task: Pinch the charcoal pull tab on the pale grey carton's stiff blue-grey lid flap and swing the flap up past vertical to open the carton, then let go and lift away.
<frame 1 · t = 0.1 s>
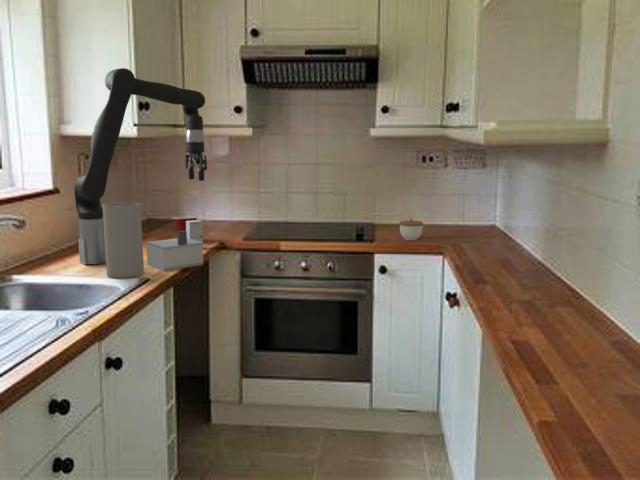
hand: (196, 179, 270), 29 cm above the worktop, fingers open, 8 cm apart
skincare box: (195, 249, 274), on the worktop
plastic cup: (186, 243, 289), on the worktop
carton: (175, 264, 243), on the worktop
lidded jar: (410, 239, 296), on the worktop
carton flap: (174, 236, 241), point 11 cm above the worktop, hinge at 0.0°
cylinder vase: (125, 275, 227), on the worktop
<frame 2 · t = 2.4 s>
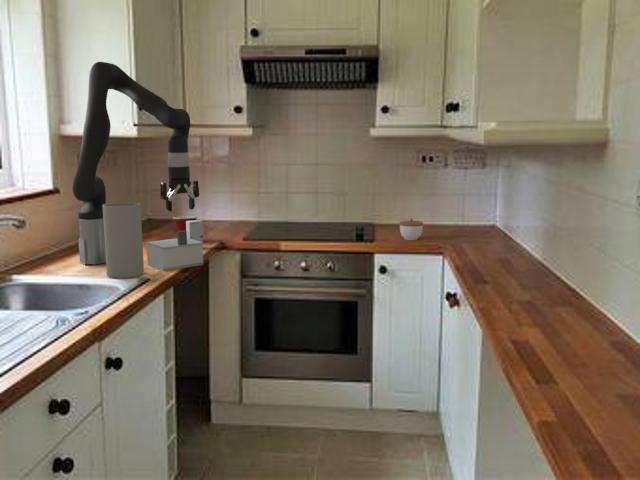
hand: (180, 210, 234), 21 cm above the worktop, fingers open, 8 cm apart
nothing on the worktop moved.
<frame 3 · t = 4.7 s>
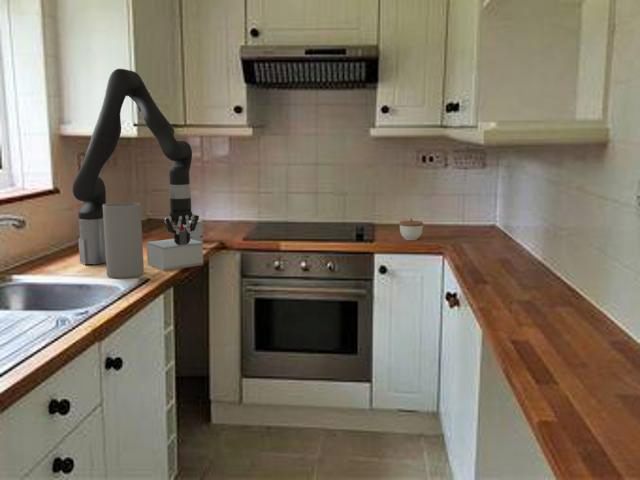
hand: (182, 243, 236), 9 cm above the worktop, fingers closed on carton flap, 3 cm apart
carton flap: (174, 236, 241), point 11 cm above the worktop, hinge at 0.0°, touching gripper
everything else where it was.
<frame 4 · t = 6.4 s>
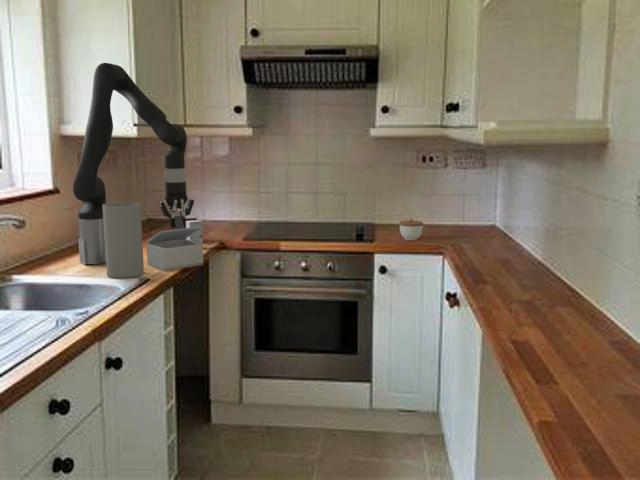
hand: (177, 227, 238), 15 cm above the worktop, fingers closed on carton flap, 3 cm apart
carton flap: (171, 228, 242), point 14 cm above the worktop, hinge at 24.0°, touching gripper
everything else where it was.
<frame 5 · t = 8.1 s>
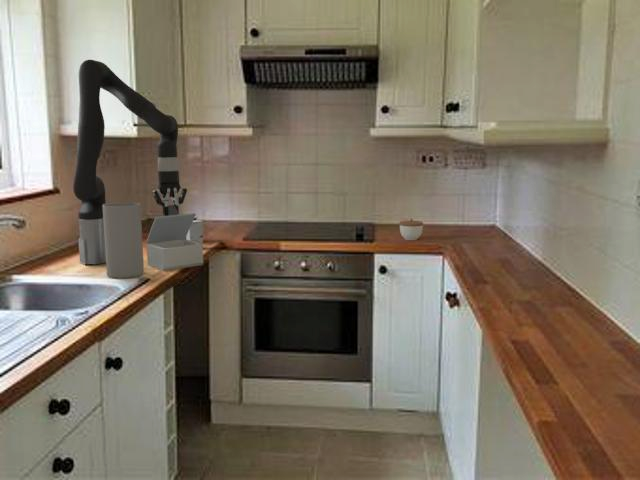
hand: (171, 215, 241), 18 cm above the worktop, fingers closed on carton flap, 3 cm apart
carton flap: (168, 223, 243), point 15 cm above the worktop, hinge at 48.0°, touching gripper
everything else where it was.
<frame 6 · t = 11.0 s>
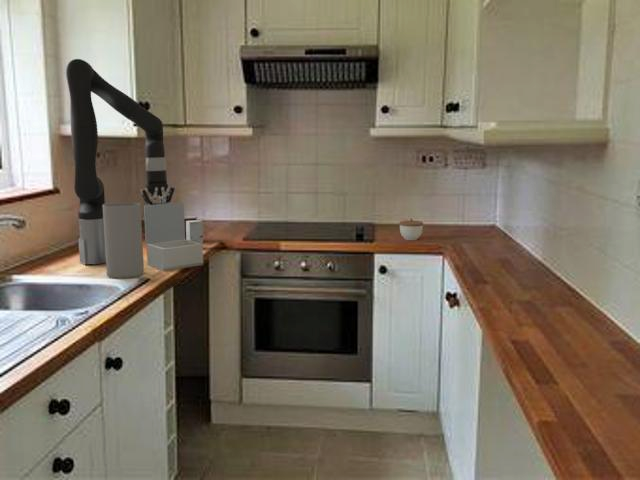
hand: (158, 214, 249), 18 cm above the worktop, fingers closed on carton flap, 3 cm apart
carton flap: (162, 221, 248), point 15 cm above the worktop, hinge at 89.0°, touching gripper
everything else where it was.
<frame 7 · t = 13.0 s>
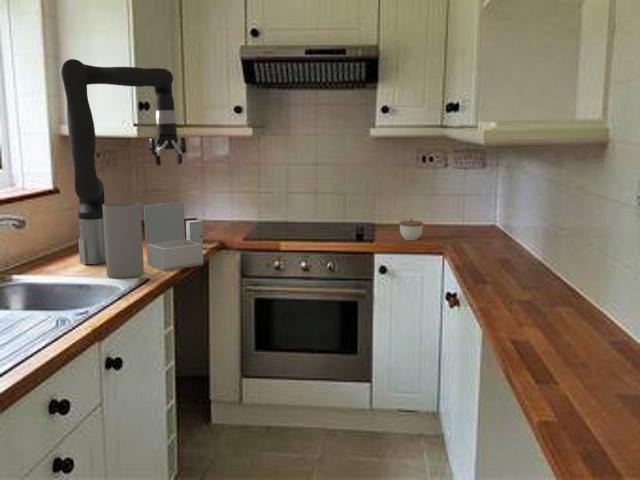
hand: (169, 165, 250), 37 cm above the worktop, fingers open, 8 cm apart
carton flap: (162, 222, 248), point 15 cm above the worktop, hinge at 89.9°
everything else where it was.
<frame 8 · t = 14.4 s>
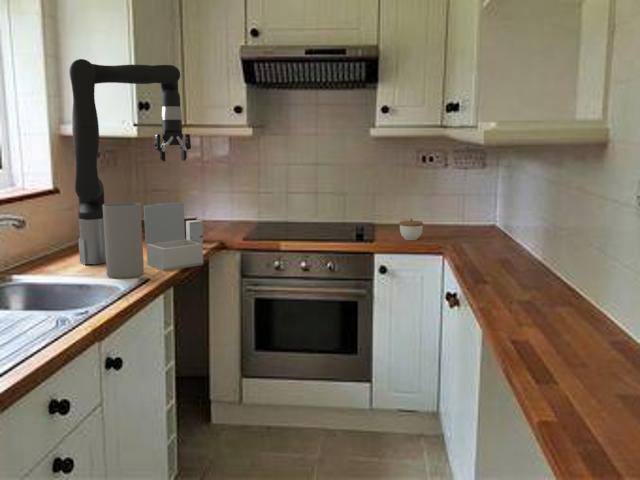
hand: (173, 160, 252), 38 cm above the worktop, fingers open, 8 cm apart
nothing on the worktop moved.
at the end: carton flap at +90° (first picture: +0°); the gripper is holding nothing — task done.
